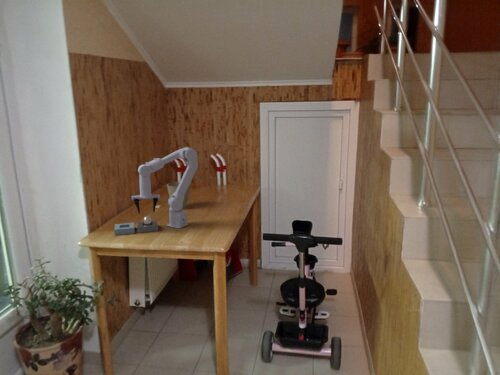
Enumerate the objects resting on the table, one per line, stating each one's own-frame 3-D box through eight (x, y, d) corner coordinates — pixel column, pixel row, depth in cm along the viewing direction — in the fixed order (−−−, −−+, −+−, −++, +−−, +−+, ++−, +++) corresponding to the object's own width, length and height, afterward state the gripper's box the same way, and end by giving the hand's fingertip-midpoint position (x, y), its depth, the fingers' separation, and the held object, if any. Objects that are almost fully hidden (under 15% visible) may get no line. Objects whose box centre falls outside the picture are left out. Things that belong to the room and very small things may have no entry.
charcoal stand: (156, 225, 219) (156, 220, 218) (158, 231, 210) (157, 225, 209) (138, 227, 216) (137, 222, 216) (138, 233, 207) (138, 227, 206)
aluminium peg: (152, 228, 213) (152, 216, 212) (147, 230, 211) (147, 218, 209) (148, 227, 215) (147, 215, 214) (143, 229, 212) (142, 217, 211)
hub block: (134, 227, 216) (134, 222, 215) (134, 233, 206) (134, 227, 206) (115, 229, 213) (115, 224, 212) (114, 235, 204) (114, 229, 203)
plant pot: (186, 211, 246) (185, 186, 242) (164, 210, 249) (163, 186, 245) (194, 205, 260) (193, 182, 257) (173, 204, 263) (172, 181, 259)
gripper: (130, 189, 203) (132, 215, 205) (159, 188, 206) (160, 213, 209) (131, 186, 209) (132, 211, 212) (159, 185, 213) (160, 209, 216)
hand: (146, 212), depth 211 cm, fingers open, 7 cm apart
